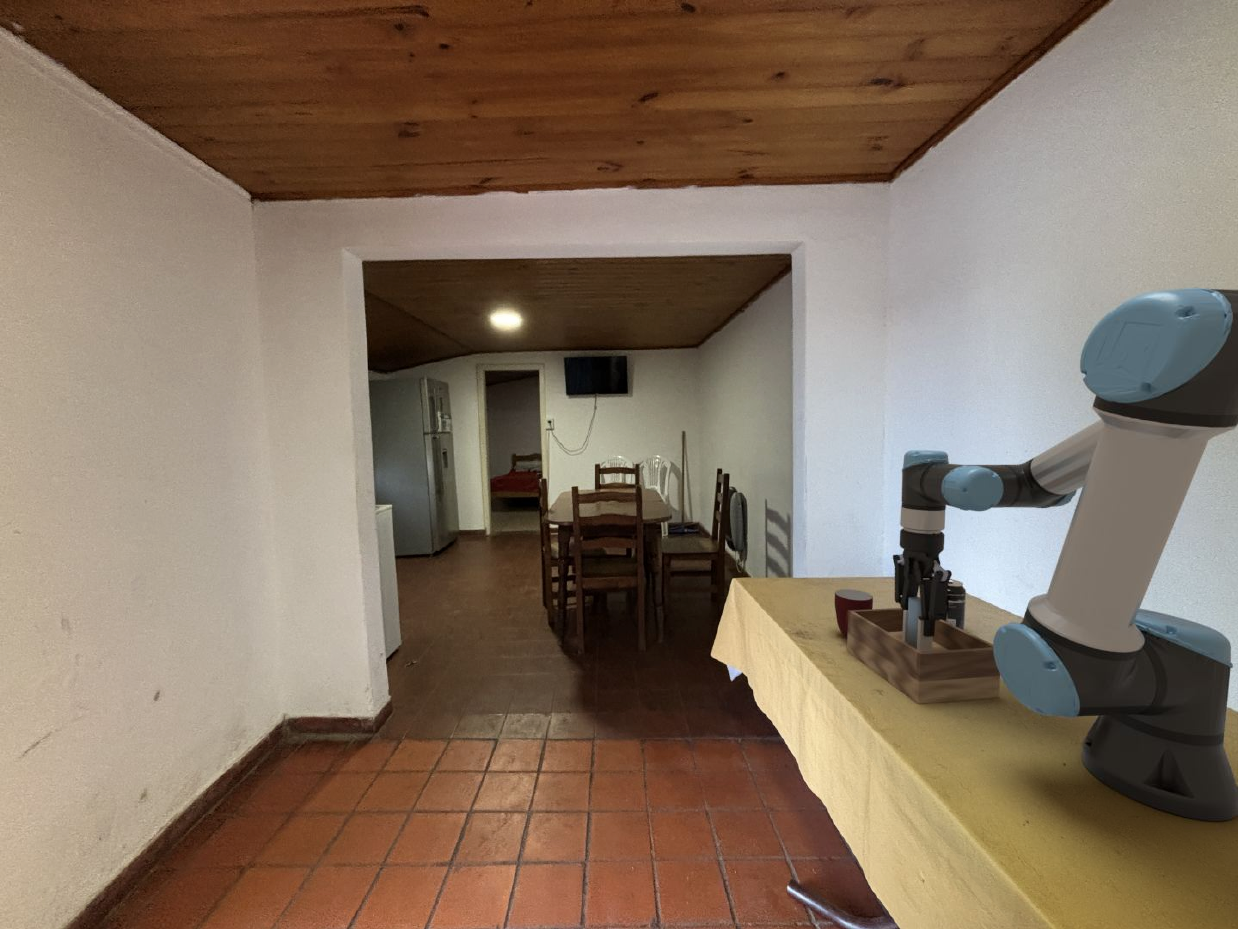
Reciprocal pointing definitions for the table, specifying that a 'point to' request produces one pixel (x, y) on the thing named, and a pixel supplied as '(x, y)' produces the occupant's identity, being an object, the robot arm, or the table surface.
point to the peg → (913, 620)
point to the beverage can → (955, 604)
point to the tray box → (924, 658)
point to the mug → (850, 606)
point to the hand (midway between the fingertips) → (916, 646)
